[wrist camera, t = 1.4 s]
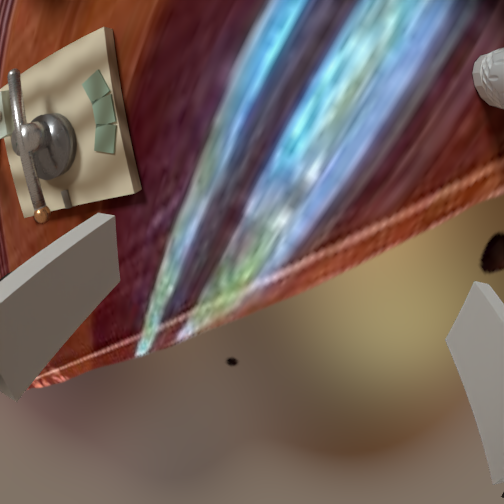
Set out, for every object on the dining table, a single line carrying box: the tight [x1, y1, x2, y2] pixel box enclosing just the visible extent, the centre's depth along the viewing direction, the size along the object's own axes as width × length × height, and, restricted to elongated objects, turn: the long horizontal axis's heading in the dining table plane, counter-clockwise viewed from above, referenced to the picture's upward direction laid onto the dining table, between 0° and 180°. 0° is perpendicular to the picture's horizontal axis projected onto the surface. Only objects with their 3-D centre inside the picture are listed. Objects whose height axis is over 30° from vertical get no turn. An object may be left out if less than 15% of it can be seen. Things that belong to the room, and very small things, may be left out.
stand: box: [0, 27, 142, 218], centre depth 34 cm, size 22×23×5 cm
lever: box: [8, 69, 77, 223], centre depth 32 cm, size 21×9×7 cm, turn 9°
